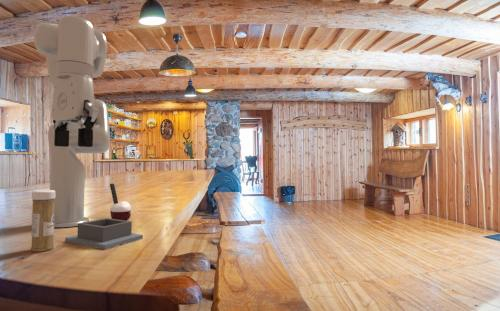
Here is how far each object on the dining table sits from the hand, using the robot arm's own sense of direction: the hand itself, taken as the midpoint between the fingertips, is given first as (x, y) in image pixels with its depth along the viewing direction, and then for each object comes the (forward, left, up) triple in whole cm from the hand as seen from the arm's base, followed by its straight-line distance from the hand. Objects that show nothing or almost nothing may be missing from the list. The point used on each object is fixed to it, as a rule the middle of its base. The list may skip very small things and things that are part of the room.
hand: (73, 146), depth 78 cm
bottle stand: (+1, +9, -24) cm, 25 cm away
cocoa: (-15, +29, -24) cm, 41 cm away
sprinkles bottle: (-4, -4, -24) cm, 24 cm away
